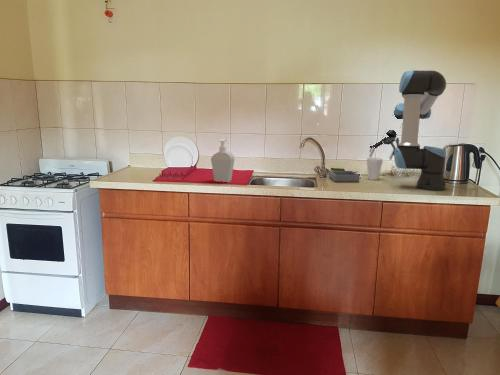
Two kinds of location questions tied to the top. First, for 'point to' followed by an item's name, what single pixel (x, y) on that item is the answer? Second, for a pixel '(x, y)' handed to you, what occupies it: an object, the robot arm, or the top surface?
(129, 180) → the top surface
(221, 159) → the soap bottle
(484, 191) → the top surface
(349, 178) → the tray
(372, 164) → the foam cup
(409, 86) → the robot arm
